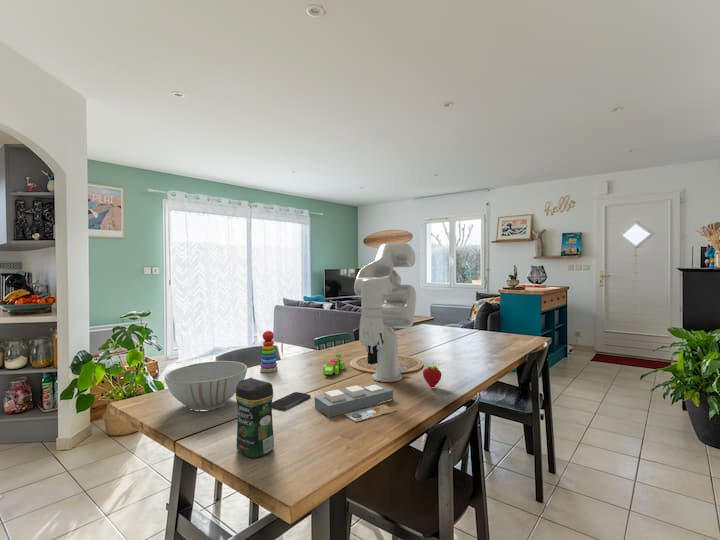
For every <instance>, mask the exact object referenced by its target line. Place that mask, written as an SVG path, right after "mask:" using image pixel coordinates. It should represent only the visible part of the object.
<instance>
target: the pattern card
mask: <svg viewBox="0 0 720 540" xmlns="http://www.w3.org/2000/svg"><path fill="white" fill-rule="evenodd" d="M373 407H374V406H369V407H366V408H362V409H358V410H354V411H350V412H347V413H344V416H345V415H346V416H345V417H347V416H348V417H349V418H348V417H347V418H348V419H350V418H351V419H352V420H351V419H350V420H351V421H353V420H356V419H358V418H361V417H362V419H365V418H368V417H370V416H372V417H373V414H375V413H376V411H374V410H373ZM374 409H375V408H374ZM367 415H368V416H367Z"/></svg>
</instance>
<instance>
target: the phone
mask: <svg viewBox="0 0 720 540" xmlns="http://www.w3.org/2000/svg"><path fill="white" fill-rule="evenodd" d="M309 399H311V394H307V393H303V392H298V391H294V392H292V393H290V394H288V395H285V396H283V397H280V398H279V399H276V400H274V401H272V410H274V409H275V410H279V411H287V410H290V409H291V408H293V407H295V406H297V405H299V404H301V403H303V402H305V401H307V400H309Z"/></svg>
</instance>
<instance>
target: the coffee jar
mask: <svg viewBox="0 0 720 540" xmlns="http://www.w3.org/2000/svg"><path fill="white" fill-rule="evenodd" d="M273 399H274V389H273V384H272V382H269V381H264V380H260V379H257V378H253V377H248V378H245V379H244V380H241V381H239V383H238V384H237V386H236V393H235V400H236V406H237V409H236V411H237V413H236V414H237V416H236V418H237V419H236V426H237V427H236V450H237V452H238V453H240V454H241V455H243V456H246V457H248V458H252V459H255V458H260V457H264V456H266V455H268V454H270V453H271V452H272V451H273V450H274V448H275V437H274V436H275V435H274V425H273V408H272V402H273Z"/></svg>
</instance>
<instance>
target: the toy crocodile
mask: <svg viewBox="0 0 720 540" xmlns="http://www.w3.org/2000/svg"><path fill="white" fill-rule="evenodd" d="M345 365H346V364H345V361H343V359H342V354H338V353H337V354H335V358H333V359H330V361H328V363H327V364H325V365H323V368H322V373H323V374H324V375H333V373H334V375H339V374H340V373H339V371H341V370H342V371H343V369H344V370H345Z"/></svg>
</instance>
